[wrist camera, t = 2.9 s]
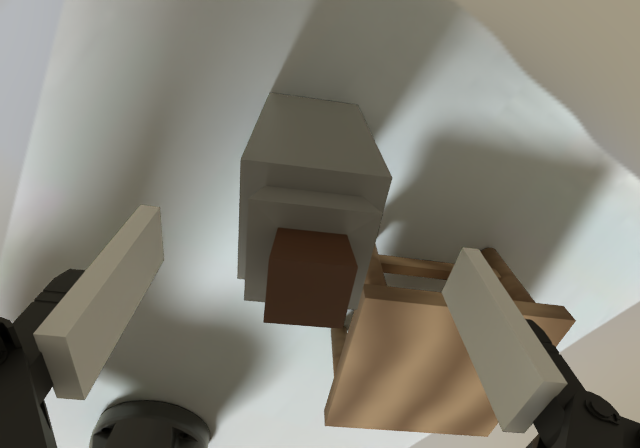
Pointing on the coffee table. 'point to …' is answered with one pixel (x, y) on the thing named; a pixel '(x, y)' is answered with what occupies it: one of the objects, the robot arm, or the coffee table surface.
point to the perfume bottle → (309, 210)
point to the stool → (418, 354)
